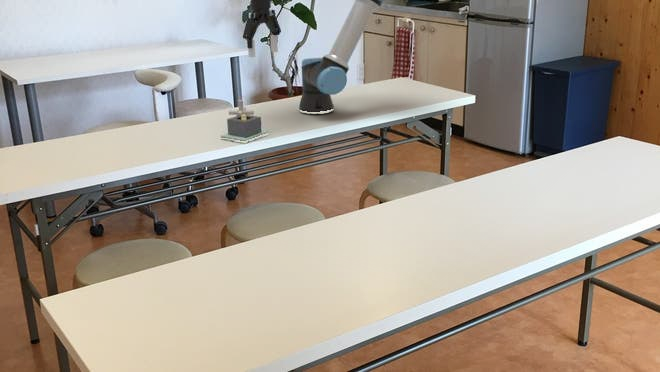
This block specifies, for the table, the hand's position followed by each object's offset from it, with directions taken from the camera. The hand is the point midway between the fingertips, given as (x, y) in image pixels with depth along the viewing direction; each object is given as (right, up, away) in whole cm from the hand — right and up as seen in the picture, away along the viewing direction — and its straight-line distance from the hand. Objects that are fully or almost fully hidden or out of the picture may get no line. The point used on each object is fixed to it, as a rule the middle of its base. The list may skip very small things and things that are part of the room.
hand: (263, 54), depth 276 cm
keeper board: (-6, -33, -6) cm, 34 cm away
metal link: (-6, -31, -7) cm, 33 cm away
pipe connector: (-10, -27, +12) cm, 31 cm away
